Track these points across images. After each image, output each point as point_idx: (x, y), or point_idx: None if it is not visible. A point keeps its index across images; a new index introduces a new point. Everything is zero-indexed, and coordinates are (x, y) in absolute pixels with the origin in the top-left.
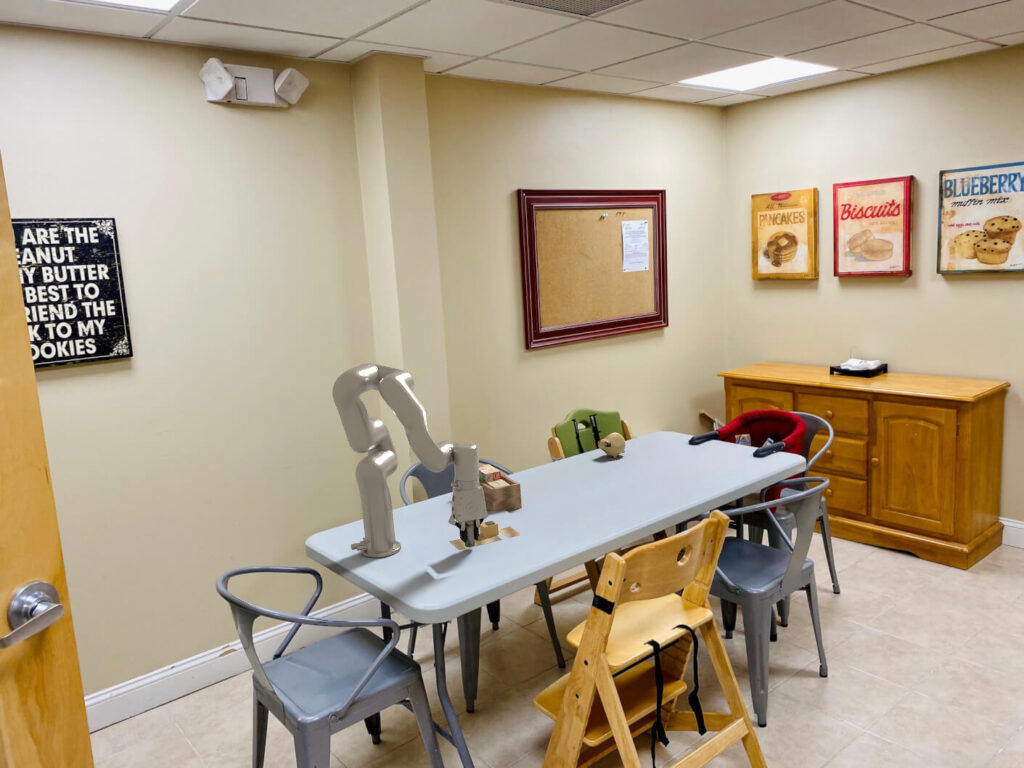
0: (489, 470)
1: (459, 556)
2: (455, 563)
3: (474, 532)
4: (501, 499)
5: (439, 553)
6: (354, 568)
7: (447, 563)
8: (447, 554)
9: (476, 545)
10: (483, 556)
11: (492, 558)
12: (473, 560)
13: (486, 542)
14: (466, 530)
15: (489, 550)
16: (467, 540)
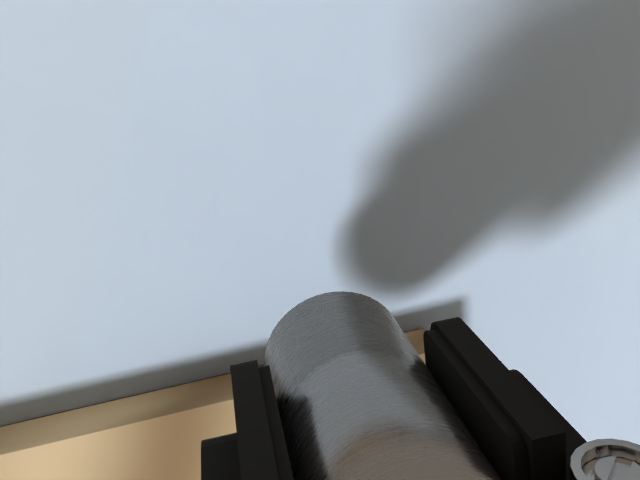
0: None
1: (450, 263)
2: (554, 84)
3: (298, 467)
4: None
5: (585, 408)
6: None
7: (621, 128)
8: (533, 360)
9: (219, 417)
10: (190, 140)
11: (82, 7)
12: (344, 70)
13: (72, 467)
14: (495, 471)
15: (71, 299)
16: (414, 351)
